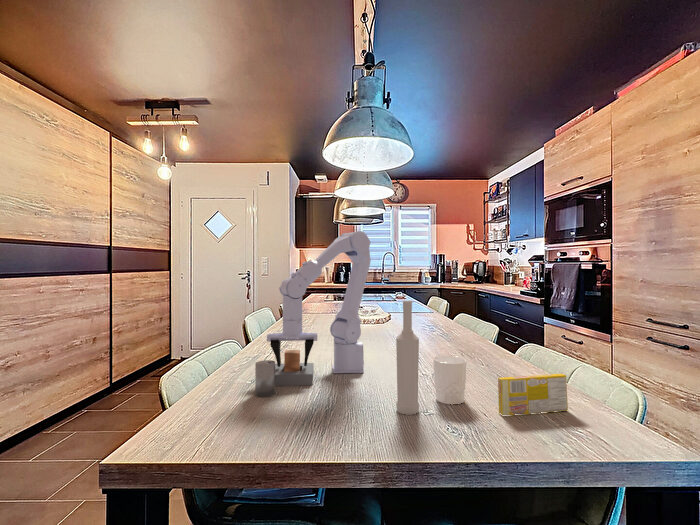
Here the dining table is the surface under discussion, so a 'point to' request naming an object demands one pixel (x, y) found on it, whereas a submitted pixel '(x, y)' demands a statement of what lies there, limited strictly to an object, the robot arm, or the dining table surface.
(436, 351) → the dining table surface
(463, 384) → the white cup
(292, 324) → the robot arm
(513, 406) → the candy box
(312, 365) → the bore block
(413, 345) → the bottle
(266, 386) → the round dowel
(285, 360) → the square peg
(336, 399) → the dining table surface
